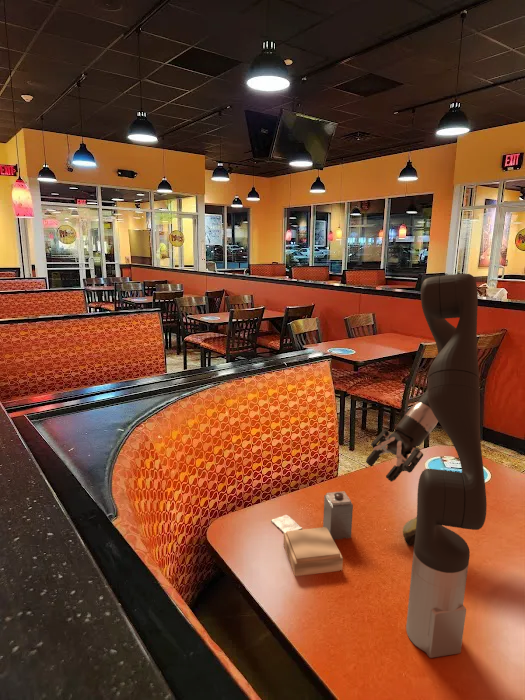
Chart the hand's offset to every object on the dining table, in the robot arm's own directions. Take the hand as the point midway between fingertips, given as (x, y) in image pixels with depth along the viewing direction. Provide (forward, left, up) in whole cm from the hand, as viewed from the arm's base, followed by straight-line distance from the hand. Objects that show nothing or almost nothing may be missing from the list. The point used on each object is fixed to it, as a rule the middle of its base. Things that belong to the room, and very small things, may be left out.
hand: (378, 471), depth 117 cm
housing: (-2, +11, -15) cm, 19 cm away
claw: (-6, -13, -15) cm, 21 cm away
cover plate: (+3, +23, -15) cm, 28 cm away
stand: (-10, +20, -15) cm, 27 cm away
